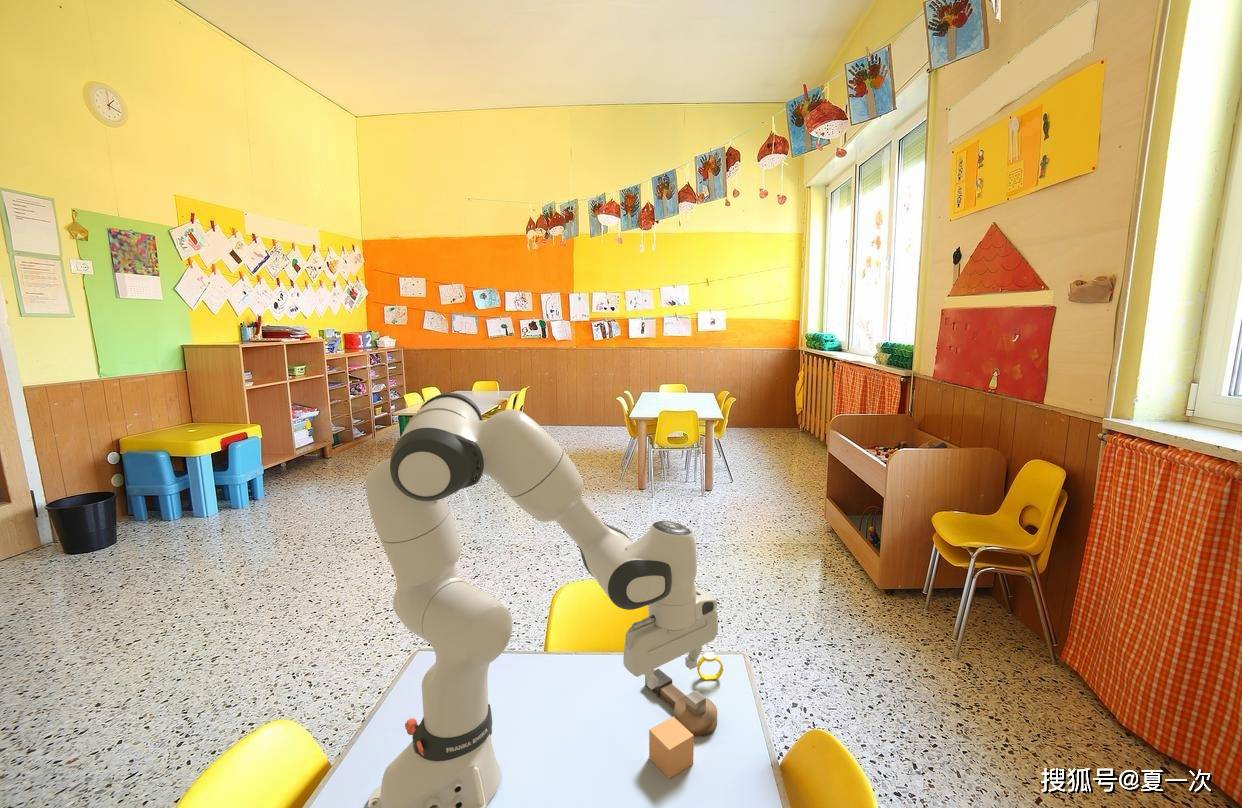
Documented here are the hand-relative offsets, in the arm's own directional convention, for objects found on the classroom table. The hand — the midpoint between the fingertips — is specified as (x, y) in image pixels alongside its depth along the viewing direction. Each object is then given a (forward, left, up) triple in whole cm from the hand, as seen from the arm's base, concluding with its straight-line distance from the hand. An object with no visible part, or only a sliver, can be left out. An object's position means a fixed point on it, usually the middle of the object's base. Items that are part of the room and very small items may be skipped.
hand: (672, 676), depth 98 cm
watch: (+23, +13, -18) cm, 32 cm away
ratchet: (+11, +10, -18) cm, 23 cm away
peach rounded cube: (0, 0, -18) cm, 18 cm away
